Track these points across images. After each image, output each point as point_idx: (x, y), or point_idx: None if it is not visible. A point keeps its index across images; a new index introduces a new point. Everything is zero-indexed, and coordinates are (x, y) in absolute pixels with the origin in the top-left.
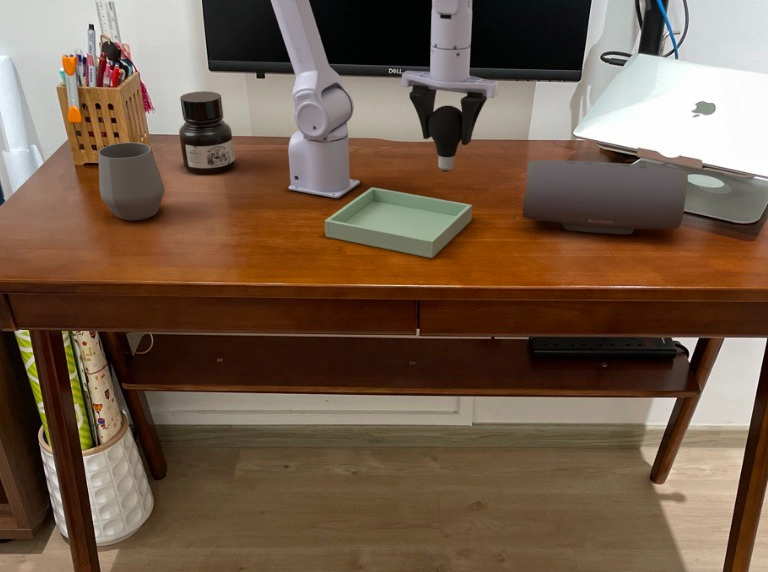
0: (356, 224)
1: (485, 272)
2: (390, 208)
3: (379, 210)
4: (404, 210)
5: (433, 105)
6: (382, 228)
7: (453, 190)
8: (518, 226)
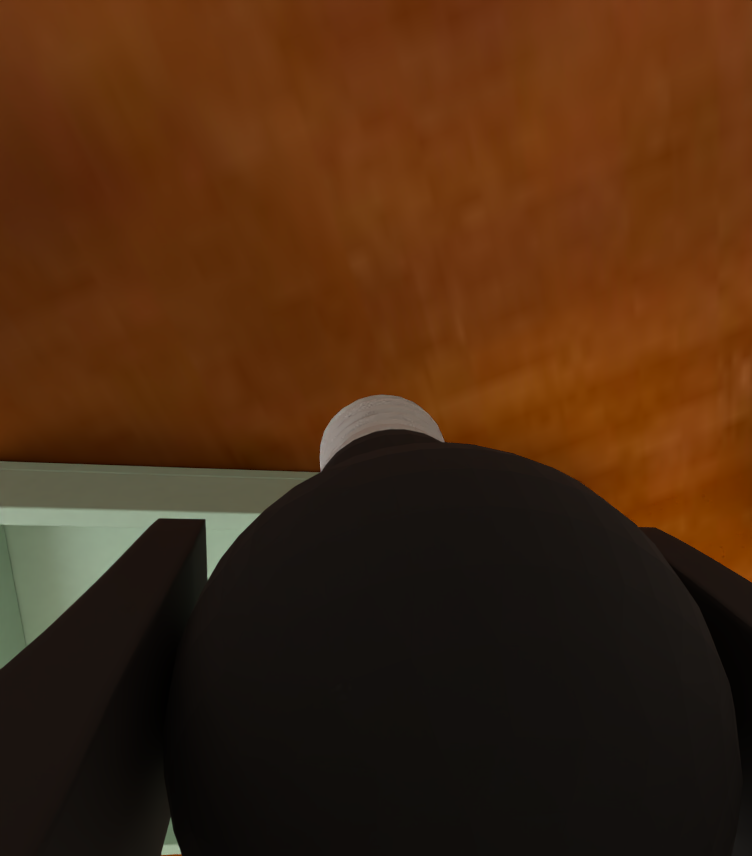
0: None
1: None
2: (134, 535)
3: (99, 573)
4: (210, 531)
5: (64, 829)
6: None
7: (331, 87)
8: (746, 459)
